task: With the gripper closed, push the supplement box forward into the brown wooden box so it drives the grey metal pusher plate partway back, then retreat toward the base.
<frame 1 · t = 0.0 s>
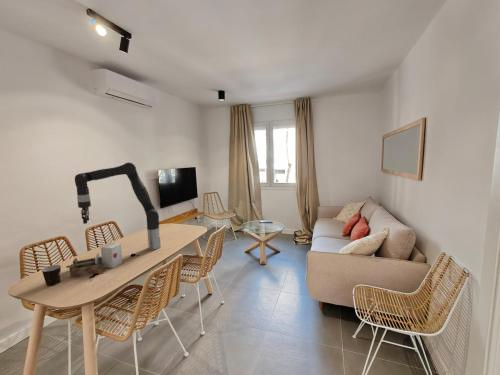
hand: (86, 222, 163), 29 cm above the table, fingers open, 8 cm apart
brown wooden box: (91, 269, 152), on the table
pusher plate: (83, 264, 149), point 5 cm above the table, slide at 2.0 cm
coffee mug: (51, 284, 133), on the table
supplement box: (112, 265, 158), on the table
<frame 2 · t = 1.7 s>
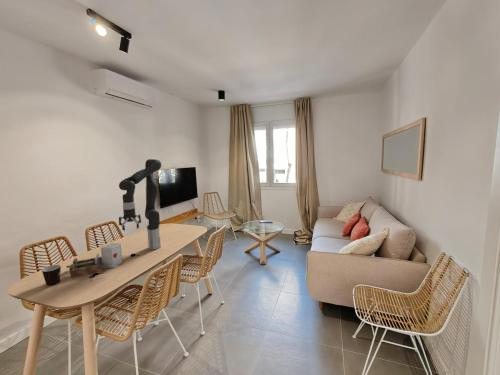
hand: (130, 229, 161), 24 cm above the table, fingers open, 8 cm apart
nothing on the table moved.
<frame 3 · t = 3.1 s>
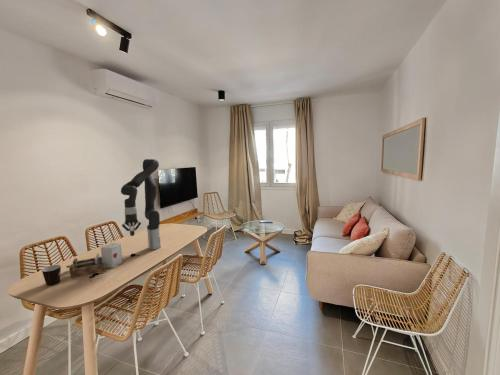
hand: (132, 235, 162), 19 cm above the table, fingers closed
nothing on the table moved.
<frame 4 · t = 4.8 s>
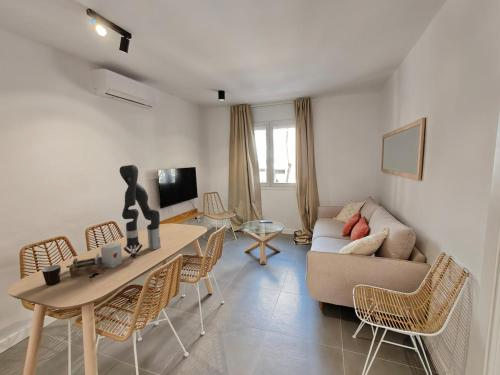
hand: (134, 258, 164), 2 cm above the table, fingers closed
nothing on the table moved.
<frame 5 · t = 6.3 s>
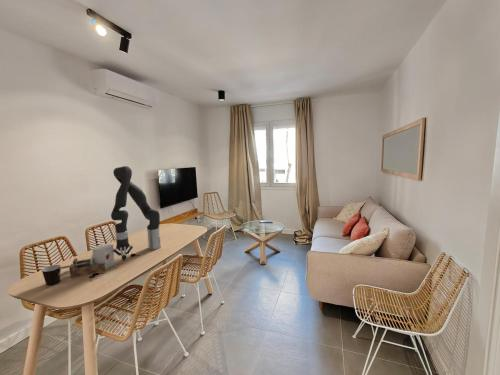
hand: (124, 259, 161), 2 cm above the table, fingers closed
pusher plate: (78, 265, 148), point 4 cm above the table, slide at 4.8 cm
supplement box: (104, 266, 155), on the table, touching hand
everything else where it was.
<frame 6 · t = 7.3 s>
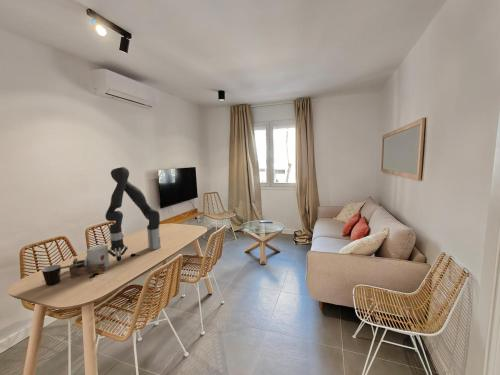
hand: (119, 260, 160), 2 cm above the table, fingers closed
pusher plate: (72, 266, 146), point 5 cm above the table, slide at 8.0 cm, touching supplement box
supplement box: (99, 267, 154), on the table, touching hand, pusher plate
everything else where it was.
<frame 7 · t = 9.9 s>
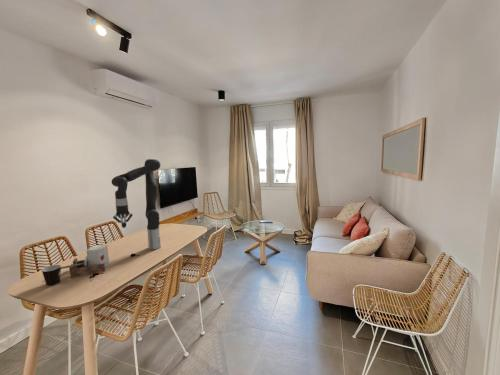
hand: (124, 227, 160), 26 cm above the table, fingers closed
pusher plate: (72, 266, 146), point 4 cm above the table, slide at 8.0 cm
supplement box: (99, 268, 154), on the table
everything else where it was.
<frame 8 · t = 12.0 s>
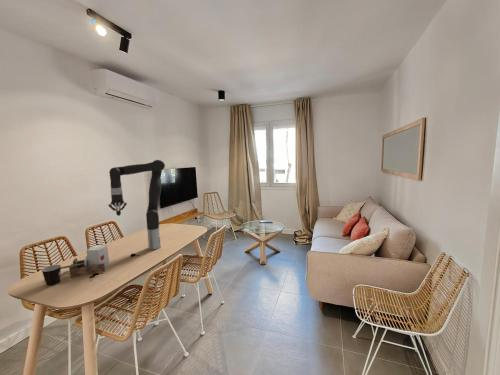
hand: (118, 215, 171), 32 cm above the table, fingers closed
nothing on the table moved.
at the end: supplement box inside the target area (3.1 cm from its centre), on the table; pusher plate slide at 8.0 cm; supplement box tilted 0° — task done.
